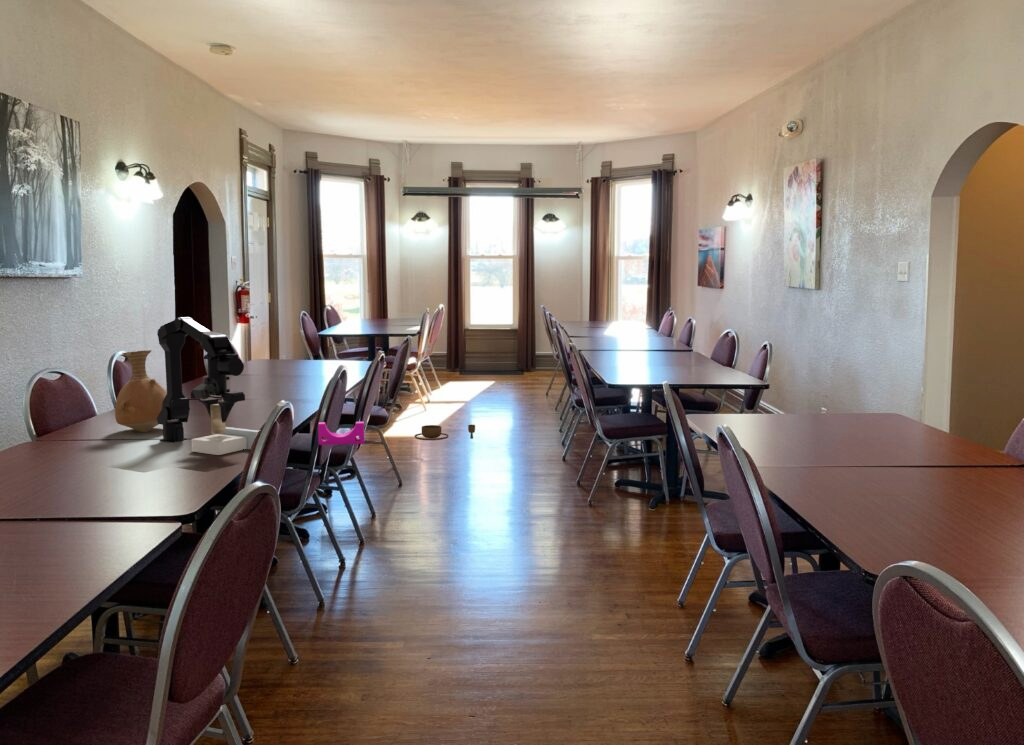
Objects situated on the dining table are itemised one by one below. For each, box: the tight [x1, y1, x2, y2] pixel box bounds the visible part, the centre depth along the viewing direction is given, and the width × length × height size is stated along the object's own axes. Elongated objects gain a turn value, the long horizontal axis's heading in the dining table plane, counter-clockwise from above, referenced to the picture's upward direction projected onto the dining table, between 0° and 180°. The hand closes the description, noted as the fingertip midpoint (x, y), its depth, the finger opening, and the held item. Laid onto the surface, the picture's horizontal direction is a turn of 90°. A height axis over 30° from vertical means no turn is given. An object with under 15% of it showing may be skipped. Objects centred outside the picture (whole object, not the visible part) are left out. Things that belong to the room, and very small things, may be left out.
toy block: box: [317, 421, 365, 446], centre depth 296 cm, size 15×6×8 cm, turn 98°
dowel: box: [210, 404, 227, 434], centre depth 281 cm, size 4×4×9 cm
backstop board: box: [211, 426, 260, 450], centre depth 289 cm, size 20×2×6 cm, turn 62°
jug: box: [114, 349, 167, 433], centre depth 312 cm, size 20×19×30 cm
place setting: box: [414, 424, 476, 441], centre depth 304 cm, size 18×20×6 cm
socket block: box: [190, 434, 248, 456], centre depth 282 cm, size 12×12×4 cm
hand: (218, 421), depth 282 cm, fingers closed on dowel, 4 cm apart
